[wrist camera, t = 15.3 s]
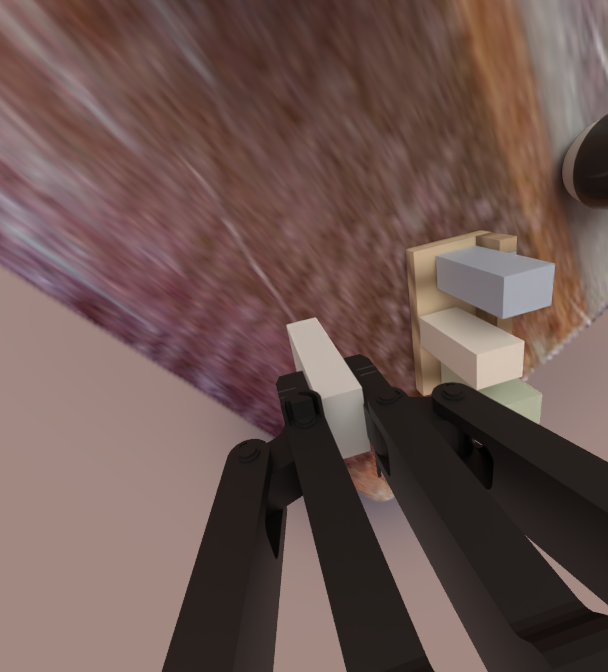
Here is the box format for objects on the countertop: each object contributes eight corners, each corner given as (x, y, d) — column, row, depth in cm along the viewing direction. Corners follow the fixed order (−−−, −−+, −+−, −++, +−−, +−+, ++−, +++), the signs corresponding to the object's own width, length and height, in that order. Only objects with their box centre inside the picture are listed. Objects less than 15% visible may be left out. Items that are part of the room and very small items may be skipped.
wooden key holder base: (405, 249, 42) (434, 258, 36) (480, 230, 43) (519, 236, 37) (416, 388, 50) (441, 414, 45) (479, 370, 51) (511, 393, 46)
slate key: (436, 255, 41) (504, 277, 31) (475, 245, 41) (555, 263, 31) (437, 288, 42) (502, 319, 32) (475, 278, 43) (551, 305, 33)
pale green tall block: (440, 360, 47) (499, 407, 37) (475, 350, 47) (542, 393, 37) (441, 386, 48) (498, 437, 38) (475, 376, 49) (539, 424, 39)
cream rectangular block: (419, 317, 43) (476, 355, 33) (456, 306, 44) (524, 341, 34) (421, 345, 45) (476, 390, 35) (457, 335, 46) (522, 376, 36)
